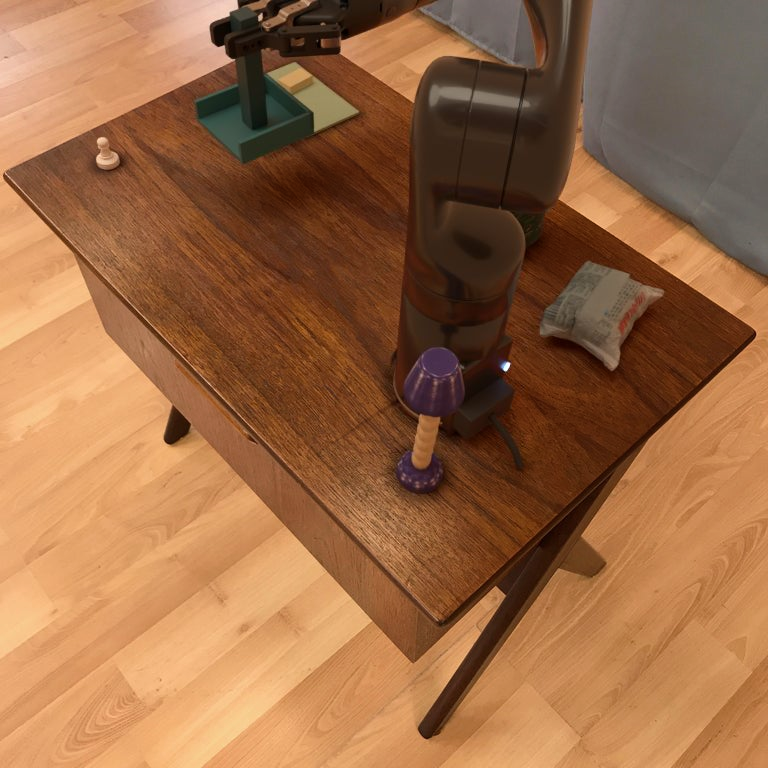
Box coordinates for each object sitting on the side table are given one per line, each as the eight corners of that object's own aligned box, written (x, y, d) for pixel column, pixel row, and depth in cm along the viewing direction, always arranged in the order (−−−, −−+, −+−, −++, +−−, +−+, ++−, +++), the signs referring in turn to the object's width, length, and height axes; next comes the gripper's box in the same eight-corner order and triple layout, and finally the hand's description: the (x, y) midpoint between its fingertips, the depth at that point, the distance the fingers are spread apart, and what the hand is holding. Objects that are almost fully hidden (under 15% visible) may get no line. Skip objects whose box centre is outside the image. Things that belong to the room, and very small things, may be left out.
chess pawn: (92, 165, 94) (85, 140, 91) (107, 153, 95) (100, 129, 93) (109, 173, 93) (102, 148, 90) (124, 161, 95) (117, 136, 92)
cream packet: (313, 83, 105) (312, 75, 104) (290, 95, 103) (290, 87, 102) (300, 75, 106) (300, 67, 105) (278, 87, 104) (277, 79, 103)
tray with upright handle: (314, 133, 85) (310, 19, 75) (242, 165, 81) (228, 49, 71) (267, 93, 89) (257, -20, 79) (197, 121, 85) (177, 6, 75)
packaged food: (656, 310, 84) (671, 276, 80) (608, 382, 78) (621, 350, 74) (581, 275, 86) (592, 241, 83) (529, 342, 80) (538, 309, 77)
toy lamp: (457, 477, 71) (484, 360, 57) (422, 509, 69) (440, 397, 55) (418, 443, 73) (435, 324, 59) (382, 475, 70) (391, 357, 57)
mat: (359, 114, 102) (359, 111, 102) (269, 155, 96) (268, 152, 96) (295, 64, 108) (295, 61, 108) (206, 100, 103) (206, 97, 102)
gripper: (323, -74, 82) (175, -28, 75) (409, -19, 76) (256, 37, 69) (325, -3, 88) (188, 46, 81) (404, 54, 82) (263, 112, 75)
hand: (220, 42), depth 75 cm, fingers closed on tray with upright handle
